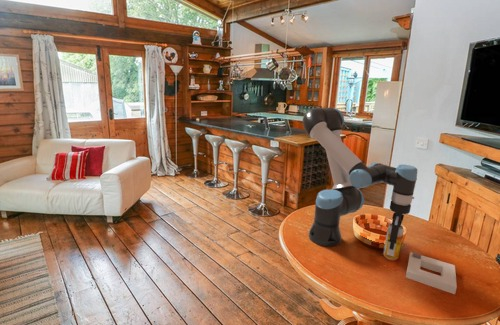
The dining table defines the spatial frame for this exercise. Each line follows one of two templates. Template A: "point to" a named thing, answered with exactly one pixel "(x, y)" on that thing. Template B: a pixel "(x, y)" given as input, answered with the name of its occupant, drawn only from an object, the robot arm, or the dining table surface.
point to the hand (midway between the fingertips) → (391, 250)
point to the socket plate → (441, 282)
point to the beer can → (398, 243)
